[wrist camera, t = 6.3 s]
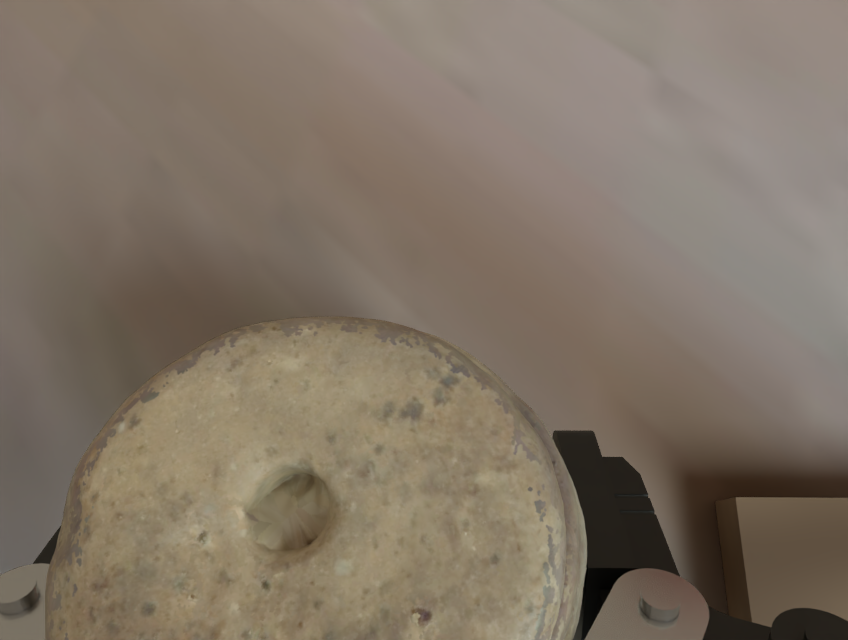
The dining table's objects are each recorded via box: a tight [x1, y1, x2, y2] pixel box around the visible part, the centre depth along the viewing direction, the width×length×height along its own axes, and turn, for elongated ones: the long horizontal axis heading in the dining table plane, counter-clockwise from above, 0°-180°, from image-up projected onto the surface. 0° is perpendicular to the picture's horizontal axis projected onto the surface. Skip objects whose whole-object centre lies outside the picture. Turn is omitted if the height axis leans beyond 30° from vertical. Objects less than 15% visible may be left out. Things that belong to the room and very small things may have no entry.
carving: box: [45, 317, 587, 640], centre depth 13 cm, size 6×8×12 cm
